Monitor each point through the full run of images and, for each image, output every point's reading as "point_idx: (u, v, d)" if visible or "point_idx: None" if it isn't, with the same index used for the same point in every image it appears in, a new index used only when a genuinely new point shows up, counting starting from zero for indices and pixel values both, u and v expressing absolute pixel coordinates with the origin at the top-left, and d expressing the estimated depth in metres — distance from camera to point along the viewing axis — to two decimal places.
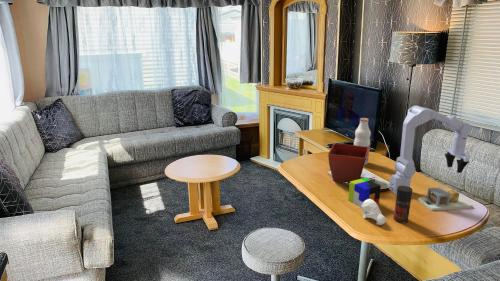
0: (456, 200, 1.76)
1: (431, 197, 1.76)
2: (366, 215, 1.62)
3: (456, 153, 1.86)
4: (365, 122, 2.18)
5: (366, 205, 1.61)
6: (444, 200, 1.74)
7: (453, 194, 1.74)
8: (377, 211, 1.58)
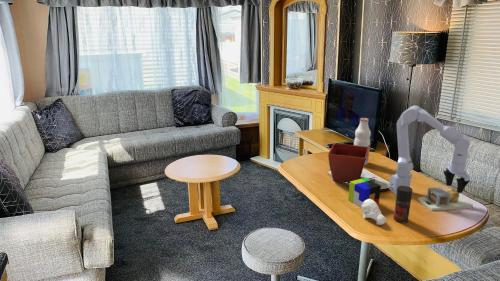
0: (456, 200, 1.76)
1: (431, 197, 1.76)
2: (366, 215, 1.62)
3: (456, 171, 1.70)
4: (365, 122, 2.18)
5: (366, 205, 1.61)
6: (444, 200, 1.74)
7: (453, 194, 1.74)
8: (377, 211, 1.58)
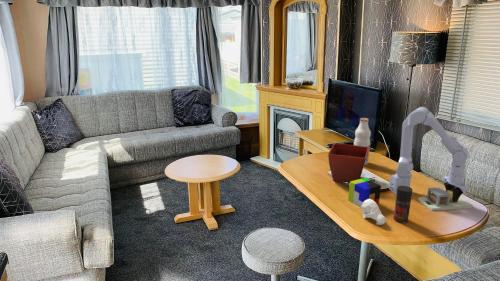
0: None
1: (431, 197, 1.76)
2: (366, 215, 1.62)
3: (454, 182, 1.72)
4: (365, 122, 2.18)
5: (366, 205, 1.61)
6: (444, 200, 1.74)
7: None
8: (377, 211, 1.58)
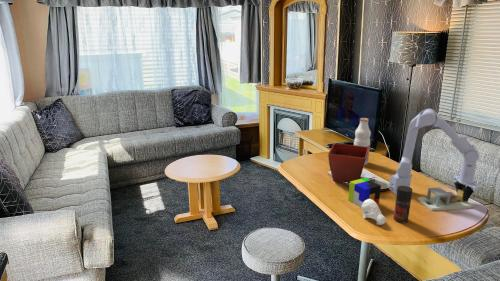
0: None
1: None
2: (366, 215, 1.62)
3: (464, 181, 1.73)
4: (365, 122, 2.18)
5: (366, 205, 1.61)
6: (455, 199, 1.75)
7: None
8: (377, 211, 1.58)
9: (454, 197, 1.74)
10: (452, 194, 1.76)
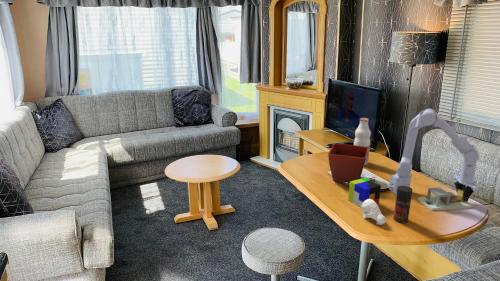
0: None
1: None
2: (366, 215, 1.62)
3: (465, 181, 1.73)
4: (365, 122, 2.18)
5: (366, 205, 1.61)
6: (455, 199, 1.75)
7: None
8: (377, 211, 1.58)
9: (454, 197, 1.74)
10: (452, 194, 1.76)
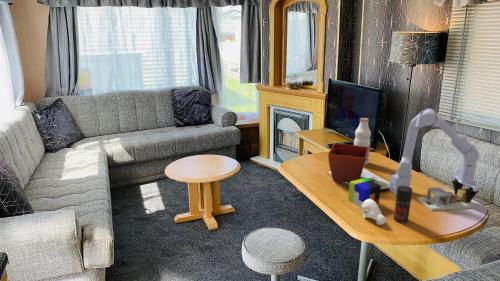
0: None
1: None
2: (366, 215, 1.62)
3: (464, 181, 1.73)
4: (365, 122, 2.18)
5: (366, 205, 1.61)
6: (455, 199, 1.75)
7: (463, 193, 1.75)
8: (377, 211, 1.58)
9: (454, 197, 1.74)
10: (452, 194, 1.76)
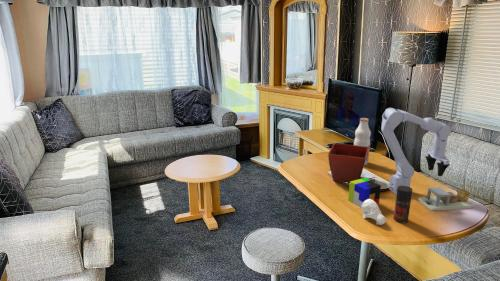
0: (466, 199, 1.76)
1: None
2: (366, 215, 1.62)
3: (436, 156, 1.82)
4: (365, 122, 2.18)
5: (366, 205, 1.61)
6: (455, 199, 1.75)
7: (463, 193, 1.75)
8: (377, 211, 1.58)
9: (454, 197, 1.74)
10: (452, 194, 1.76)
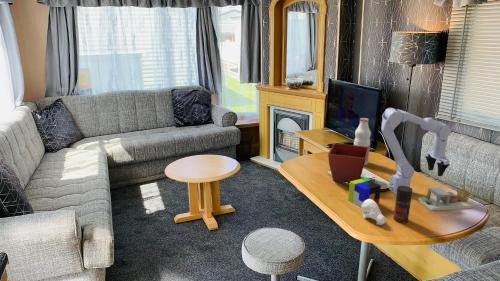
0: (466, 199, 1.76)
1: None
2: (366, 215, 1.62)
3: (436, 156, 1.82)
4: (365, 122, 2.18)
5: (366, 205, 1.61)
6: (455, 199, 1.75)
7: (463, 193, 1.75)
8: (377, 211, 1.58)
9: (454, 197, 1.74)
10: (452, 194, 1.76)
